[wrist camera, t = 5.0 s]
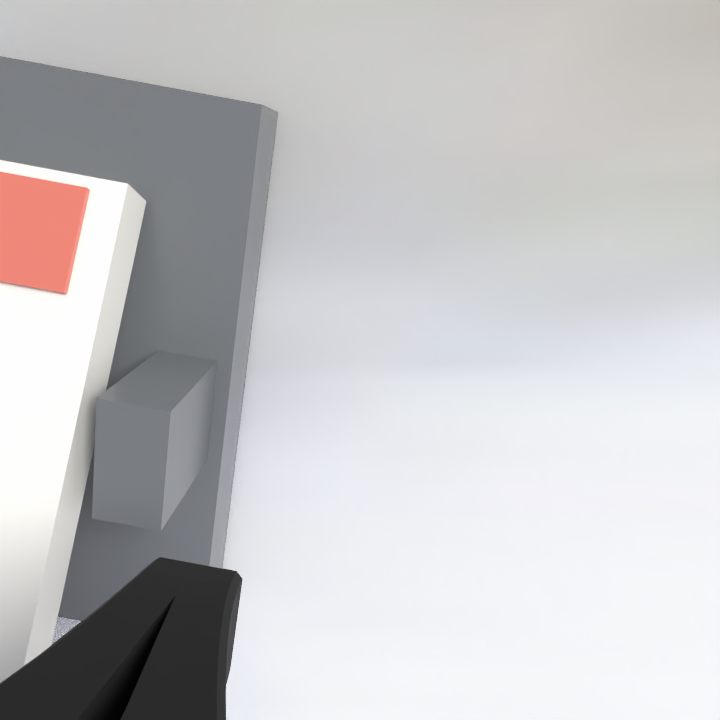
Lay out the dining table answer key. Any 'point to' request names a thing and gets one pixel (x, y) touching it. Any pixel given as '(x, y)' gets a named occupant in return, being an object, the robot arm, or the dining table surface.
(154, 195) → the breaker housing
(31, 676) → the robot arm
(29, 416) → the block
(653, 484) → the dining table surface
